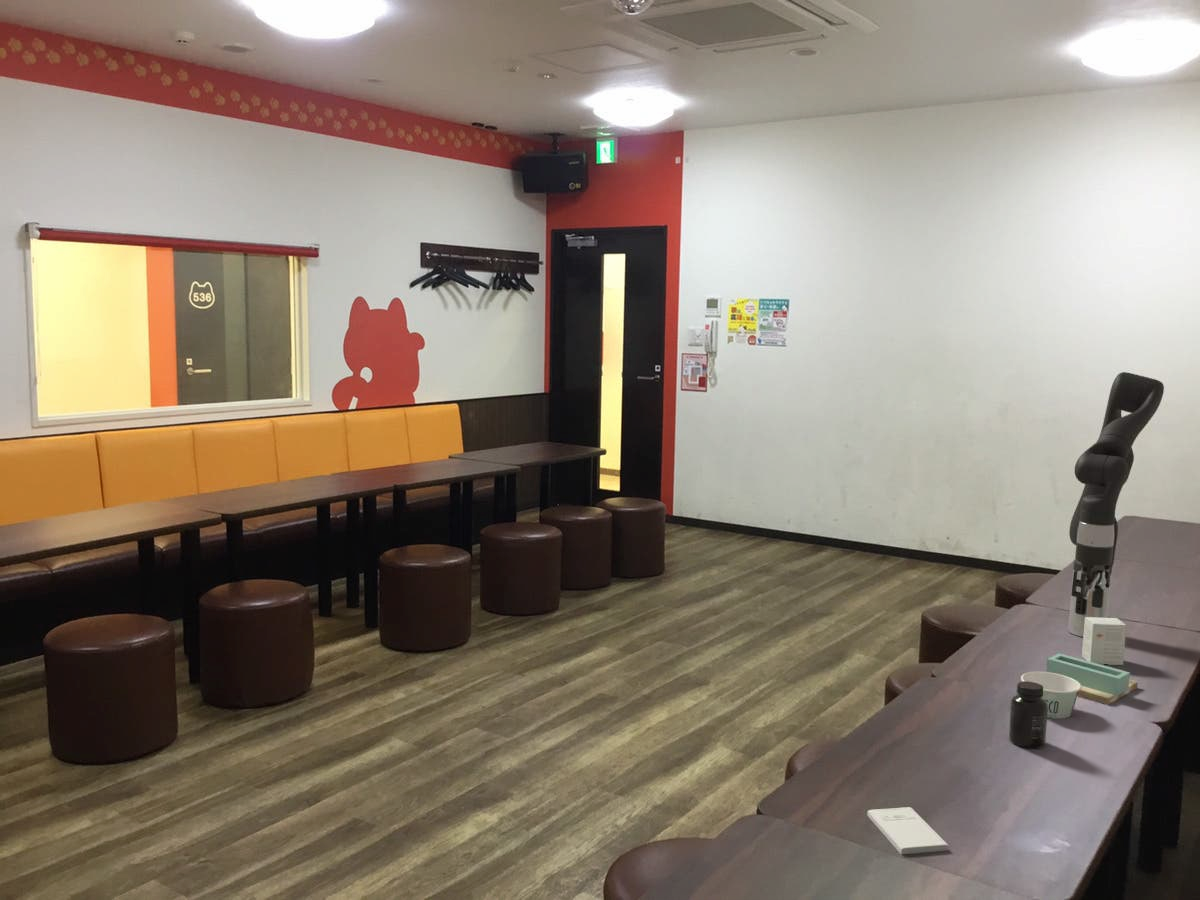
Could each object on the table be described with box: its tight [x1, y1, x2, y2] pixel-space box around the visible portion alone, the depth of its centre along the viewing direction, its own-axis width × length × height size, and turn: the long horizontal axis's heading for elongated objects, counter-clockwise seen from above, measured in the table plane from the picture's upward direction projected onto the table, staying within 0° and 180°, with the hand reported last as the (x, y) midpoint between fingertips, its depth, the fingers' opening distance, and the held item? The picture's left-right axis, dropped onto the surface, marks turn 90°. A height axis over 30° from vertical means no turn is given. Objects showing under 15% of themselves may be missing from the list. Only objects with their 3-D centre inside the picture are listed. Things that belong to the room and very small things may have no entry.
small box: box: [1081, 617, 1127, 666], centre depth 245 cm, size 8×6×10 cm
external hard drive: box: [866, 806, 949, 855], centre depth 163 cm, size 2×8×12 cm
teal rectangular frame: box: [1045, 653, 1131, 696], centre depth 227 cm, size 16×6×4 cm, turn 40°
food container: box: [1020, 671, 1081, 719], centre depth 214 cm, size 12×12×6 cm
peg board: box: [1077, 678, 1139, 706], centre depth 228 cm, size 16×15×4 cm
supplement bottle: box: [1008, 680, 1048, 750], centre depth 197 cm, size 7×7×12 cm
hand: (1088, 610), depth 226 cm, fingers open, 8 cm apart
